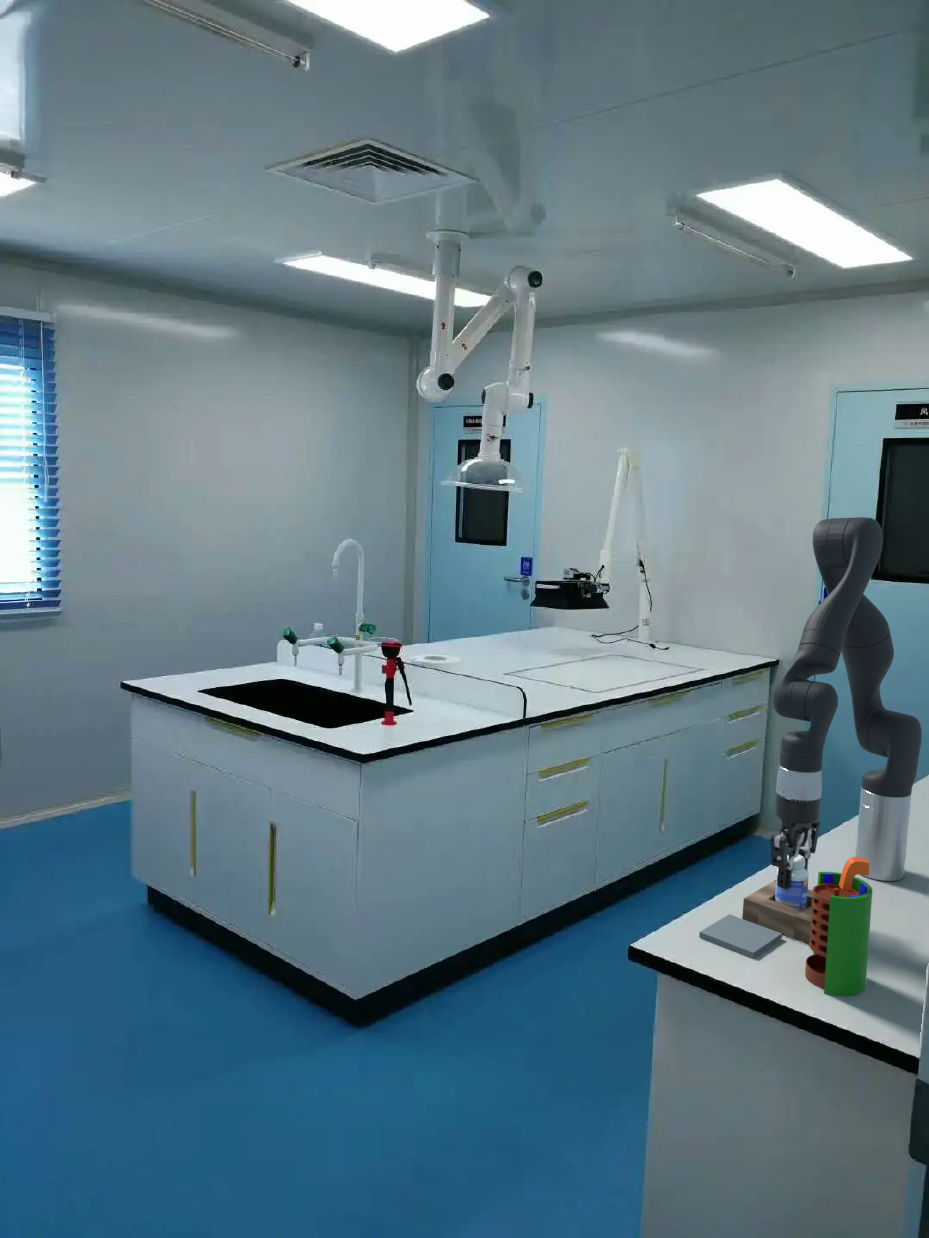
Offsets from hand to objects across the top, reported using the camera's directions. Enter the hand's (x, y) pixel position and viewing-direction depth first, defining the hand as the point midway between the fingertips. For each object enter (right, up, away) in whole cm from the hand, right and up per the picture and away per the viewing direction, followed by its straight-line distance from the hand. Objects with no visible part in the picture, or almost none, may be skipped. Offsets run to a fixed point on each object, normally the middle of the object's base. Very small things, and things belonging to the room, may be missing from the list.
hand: (792, 882), depth 172 cm
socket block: (0, -7, 0) cm, 7 cm away
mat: (-11, -8, -7) cm, 15 cm away
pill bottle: (0, -5, +1) cm, 5 cm away
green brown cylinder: (0, -10, -20) cm, 22 cm away
